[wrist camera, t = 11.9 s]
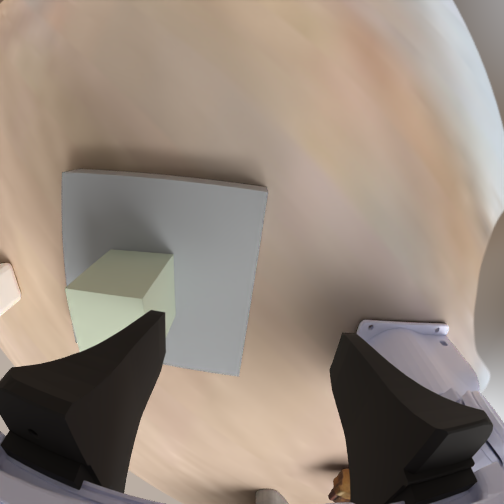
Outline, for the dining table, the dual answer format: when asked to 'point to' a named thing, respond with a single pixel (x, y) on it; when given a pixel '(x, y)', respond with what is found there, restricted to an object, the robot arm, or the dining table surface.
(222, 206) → the slate block
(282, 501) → the hip flask
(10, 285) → the pepper shaker
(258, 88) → the dining table surface
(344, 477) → the wooden carving
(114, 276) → the sage block
